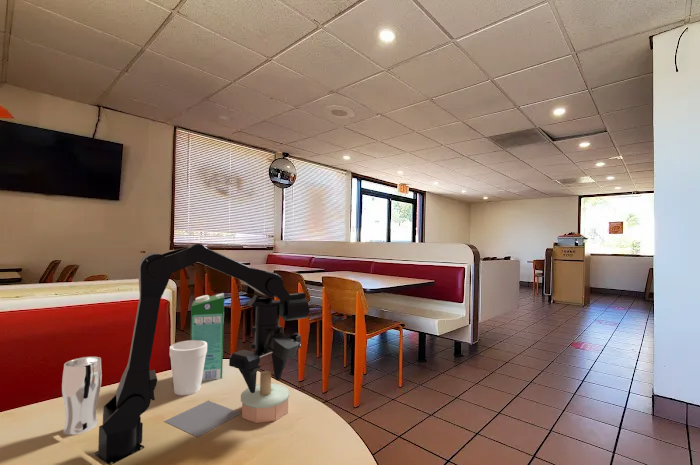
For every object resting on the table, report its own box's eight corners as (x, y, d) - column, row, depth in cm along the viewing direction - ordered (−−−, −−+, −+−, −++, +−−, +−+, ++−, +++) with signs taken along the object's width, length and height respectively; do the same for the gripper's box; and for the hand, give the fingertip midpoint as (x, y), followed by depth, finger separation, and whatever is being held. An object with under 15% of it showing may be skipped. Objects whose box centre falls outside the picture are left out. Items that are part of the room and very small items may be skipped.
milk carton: (191, 372, 110) (193, 293, 110) (221, 369, 113) (223, 292, 113) (189, 383, 101) (191, 298, 102) (222, 380, 104) (224, 297, 105)
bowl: (265, 429, 78) (266, 411, 78) (232, 416, 84) (232, 399, 84) (296, 409, 88) (296, 393, 88) (264, 398, 93) (264, 383, 93)
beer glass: (106, 427, 78) (108, 360, 78) (68, 442, 72) (71, 369, 72) (91, 418, 81) (93, 354, 82) (54, 432, 75) (56, 363, 76)
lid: (266, 412, 78) (266, 386, 78) (230, 399, 84) (230, 375, 84) (298, 393, 88) (299, 370, 88) (264, 383, 94) (264, 361, 94)
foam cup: (212, 386, 100) (213, 341, 100) (194, 401, 91) (196, 351, 91) (180, 384, 101) (182, 339, 101) (160, 398, 92) (162, 349, 92)
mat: (197, 439, 74) (197, 437, 74) (163, 423, 80) (163, 421, 80) (241, 415, 84) (241, 413, 84) (208, 402, 90) (208, 400, 90)
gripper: (264, 336, 74) (262, 410, 74) (315, 319, 90) (314, 380, 90) (228, 329, 79) (226, 397, 79) (282, 314, 96) (281, 371, 95)
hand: (265, 386), depth 86 cm, fingers open, 8 cm apart
